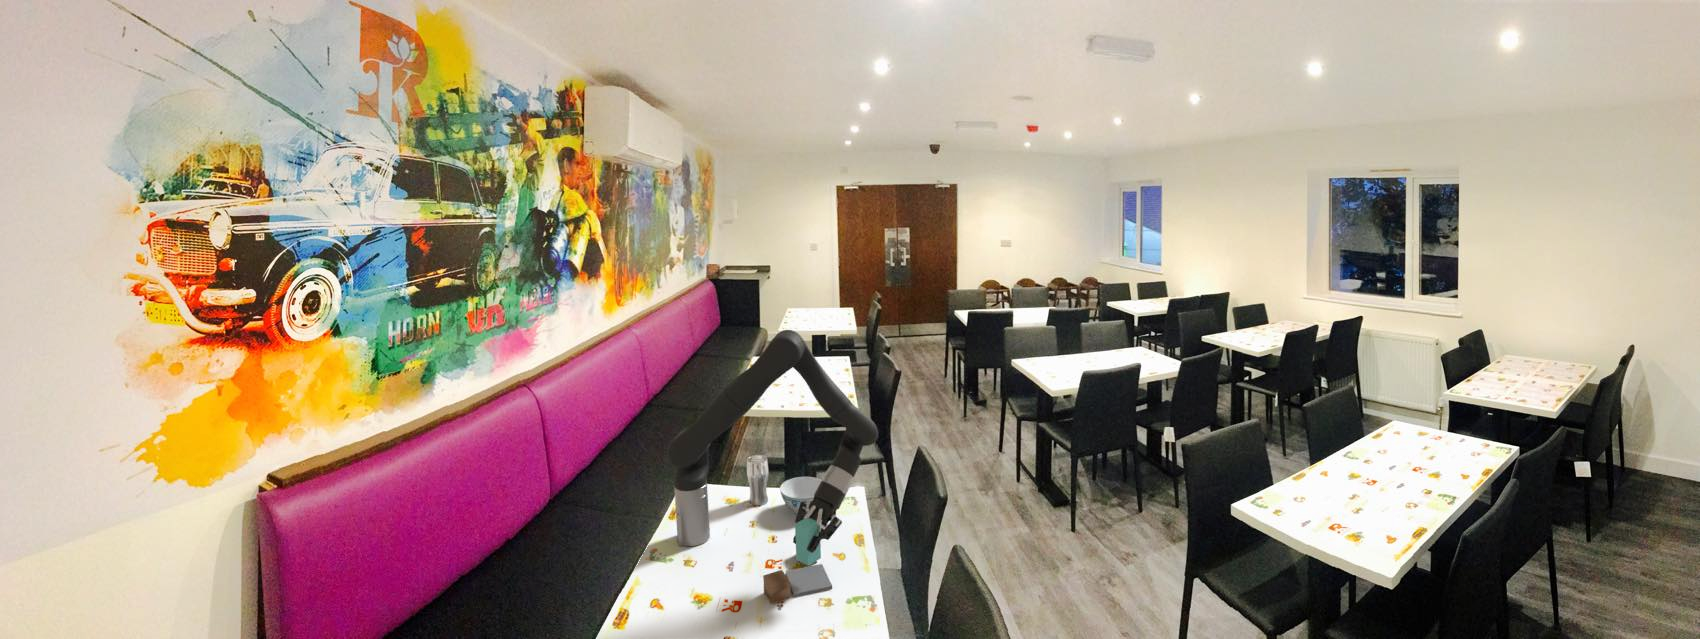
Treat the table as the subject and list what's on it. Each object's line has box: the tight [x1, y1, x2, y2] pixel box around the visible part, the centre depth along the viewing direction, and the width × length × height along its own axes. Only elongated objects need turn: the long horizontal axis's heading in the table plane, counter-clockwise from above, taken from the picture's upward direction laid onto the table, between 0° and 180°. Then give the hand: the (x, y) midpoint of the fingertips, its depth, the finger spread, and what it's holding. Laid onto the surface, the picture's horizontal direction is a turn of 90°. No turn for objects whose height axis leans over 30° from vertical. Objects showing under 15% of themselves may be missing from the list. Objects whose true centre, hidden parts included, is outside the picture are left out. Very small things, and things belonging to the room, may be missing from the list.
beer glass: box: [746, 454, 769, 507], centre depth 196 cm, size 7×7×15 cm
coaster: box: [785, 563, 833, 598], centre depth 155 cm, size 10×10×1 cm
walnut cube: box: [762, 569, 791, 605], centre depth 149 cm, size 5×5×5 cm
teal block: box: [794, 518, 822, 567], centre depth 153 cm, size 4×4×10 cm
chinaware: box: [779, 476, 822, 514], centre depth 191 cm, size 15×15×8 cm
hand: (802, 547), depth 151 cm, fingers closed on teal block, 4 cm apart
